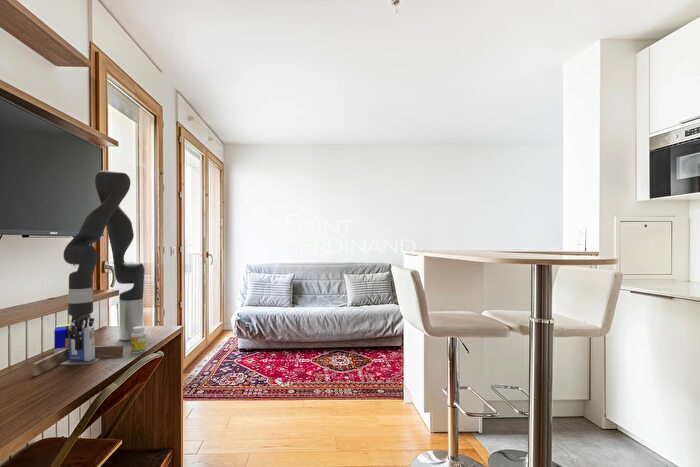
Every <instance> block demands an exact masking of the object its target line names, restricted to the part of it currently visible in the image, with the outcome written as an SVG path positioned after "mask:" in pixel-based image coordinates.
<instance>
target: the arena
mask: <svg viewBox="0 0 700 467" xmlns="http://www.w3.org/2000/svg"><path fill="white" fill-rule="evenodd" d="M123 356H124V345H95V359H93V360H90V361H75V360H69V347H68V348H66V349H63V350H61V351H59V352H57V353H55V354H54V353H53V354H50V355H48V356H46V357H45V358H42V359H40V360H38V361H36V362H34V363H32V368H33V369H32V370H33V372H32V375H33V377H37V376H39V375H41V374H43V373H45V372H48V371H50V370H51V369H53V368H55V367H57V366H65V365H67V366H69V365H93V364H94V363H95V362H98V361H100V360H101V359H102V358H117V357H118V358H120V357H123Z"/></svg>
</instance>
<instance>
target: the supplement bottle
mask: <svg viewBox="0 0 700 467" xmlns="http://www.w3.org/2000/svg"><path fill="white" fill-rule="evenodd" d="M133 332H134V333H132V334H131V340H130V353H131V354H140V353H139V352H141V353H144V352H143V351H145V352H147V349H148V348H147V345H148V344H147V332H146V331H145V326H144V325H143V326H137V327H133Z"/></svg>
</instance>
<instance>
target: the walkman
mask: <svg viewBox="0 0 700 467" xmlns="http://www.w3.org/2000/svg"><path fill="white" fill-rule="evenodd" d="M79 331H80V330H79ZM78 334H79V333H78ZM73 336H74V335H73ZM82 336H83V338H82V346H83V349H82V350H75V340H74V339H70V337H69V334H68V339H69V360H75V361H90V360H93V359H95V346H96V345H95V344H96V342H95V341H96V340H95V326H92V327H84V332H83V333H82Z"/></svg>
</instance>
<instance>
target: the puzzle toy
mask: <svg viewBox="0 0 700 467" xmlns="http://www.w3.org/2000/svg"><path fill="white" fill-rule="evenodd" d="M70 324H71V323H68V324H56V326H55V328H54V330H53V331H54V333H53V334H54V337H53V339H54V344H53V346H54V349H53V350H54V351H53V354H55V353H57V352H59V351H61V350H63V349H66V348H68V347H69V339H68V332H67V329H66V326H70Z"/></svg>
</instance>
